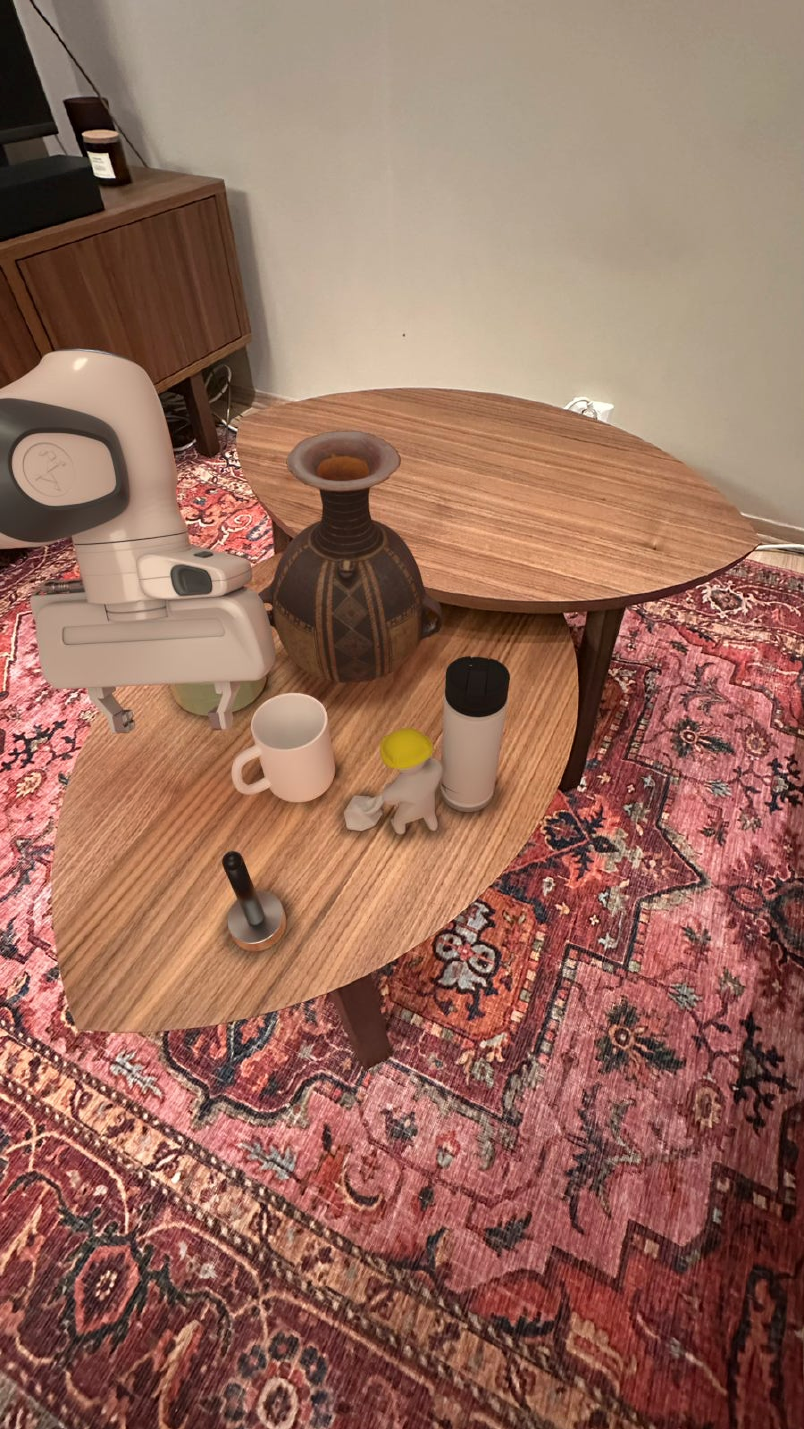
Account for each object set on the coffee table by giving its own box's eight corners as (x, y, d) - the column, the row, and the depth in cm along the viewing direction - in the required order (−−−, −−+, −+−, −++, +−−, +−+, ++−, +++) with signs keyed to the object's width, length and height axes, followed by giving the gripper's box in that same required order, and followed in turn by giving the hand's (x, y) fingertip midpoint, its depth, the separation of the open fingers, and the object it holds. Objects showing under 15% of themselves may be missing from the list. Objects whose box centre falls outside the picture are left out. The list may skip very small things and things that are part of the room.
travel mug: (436, 811, 78) (440, 693, 63) (443, 765, 82) (449, 644, 67) (490, 819, 77) (509, 700, 62) (495, 772, 81) (513, 650, 66)
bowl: (188, 732, 86) (174, 697, 81) (163, 670, 94) (149, 635, 89) (280, 697, 90) (272, 662, 85) (249, 641, 97) (240, 605, 92)
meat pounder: (241, 961, 67) (208, 897, 56) (223, 913, 70) (189, 844, 60) (294, 935, 69) (272, 868, 58) (274, 890, 72) (250, 818, 61)
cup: (349, 781, 81) (342, 726, 73) (260, 834, 76) (242, 781, 69) (312, 737, 85) (302, 681, 78) (226, 785, 81) (206, 731, 73)
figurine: (399, 768, 82) (396, 681, 71) (453, 815, 78) (460, 731, 66) (333, 816, 78) (319, 733, 66) (387, 870, 73) (382, 790, 62)
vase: (248, 684, 92) (193, 480, 69) (314, 598, 103) (286, 398, 80) (406, 734, 86) (403, 528, 63) (458, 636, 97) (471, 432, 74)
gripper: (0, 588, 55) (45, 746, 60) (242, 571, 52) (270, 739, 57) (48, 576, 61) (85, 721, 65) (268, 560, 58) (291, 713, 62)
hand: (172, 729), depth 61 cm, fingers open, 8 cm apart
